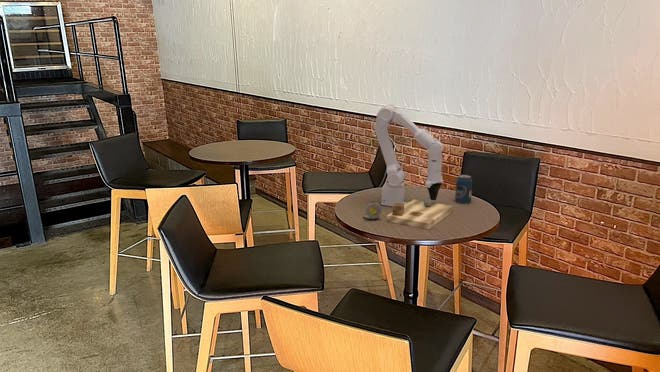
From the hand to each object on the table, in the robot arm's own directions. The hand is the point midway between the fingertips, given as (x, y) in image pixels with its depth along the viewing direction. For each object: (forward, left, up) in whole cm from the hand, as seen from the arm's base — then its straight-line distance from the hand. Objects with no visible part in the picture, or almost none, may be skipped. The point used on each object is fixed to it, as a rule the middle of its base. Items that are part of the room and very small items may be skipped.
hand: (433, 199), depth 218 cm
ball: (0, -6, 0) cm, 6 cm away
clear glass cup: (-16, -26, -4) cm, 31 cm away
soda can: (+8, +16, -4) cm, 18 cm away
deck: (0, -13, -4) cm, 14 cm away
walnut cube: (-6, -22, -1) cm, 23 cm away
